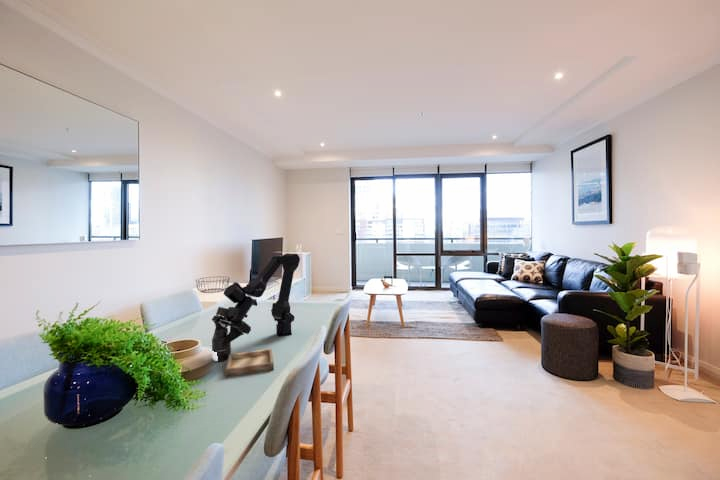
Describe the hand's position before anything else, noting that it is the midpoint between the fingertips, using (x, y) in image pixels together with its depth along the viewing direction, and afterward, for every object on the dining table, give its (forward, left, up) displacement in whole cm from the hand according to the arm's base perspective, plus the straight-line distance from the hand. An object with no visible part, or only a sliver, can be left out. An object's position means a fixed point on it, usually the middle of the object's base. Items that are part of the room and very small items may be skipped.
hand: (218, 343), depth 122 cm
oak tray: (-12, +9, -7) cm, 17 cm away
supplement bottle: (-1, -1, -7) cm, 7 cm away
